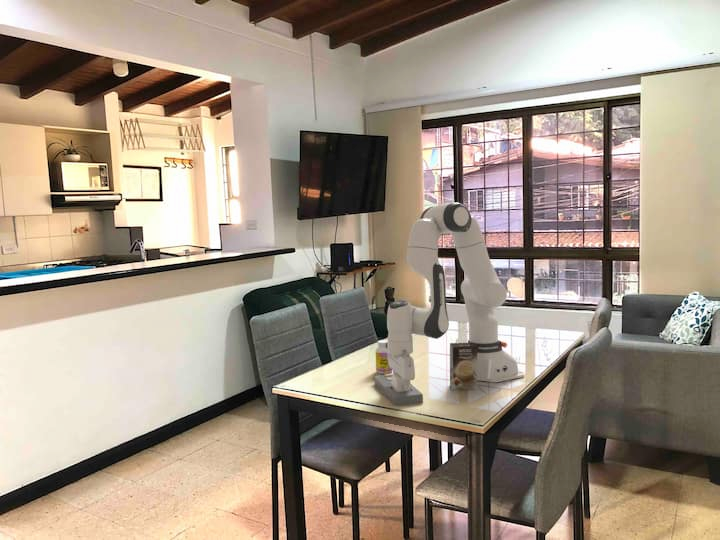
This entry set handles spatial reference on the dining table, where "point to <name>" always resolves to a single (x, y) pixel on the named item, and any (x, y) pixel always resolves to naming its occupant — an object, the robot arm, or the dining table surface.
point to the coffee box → (463, 366)
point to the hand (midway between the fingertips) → (401, 385)
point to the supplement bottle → (382, 358)
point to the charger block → (398, 383)
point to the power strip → (399, 397)
